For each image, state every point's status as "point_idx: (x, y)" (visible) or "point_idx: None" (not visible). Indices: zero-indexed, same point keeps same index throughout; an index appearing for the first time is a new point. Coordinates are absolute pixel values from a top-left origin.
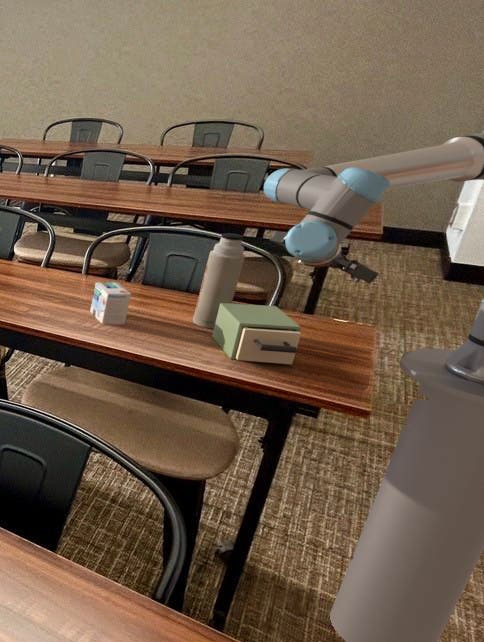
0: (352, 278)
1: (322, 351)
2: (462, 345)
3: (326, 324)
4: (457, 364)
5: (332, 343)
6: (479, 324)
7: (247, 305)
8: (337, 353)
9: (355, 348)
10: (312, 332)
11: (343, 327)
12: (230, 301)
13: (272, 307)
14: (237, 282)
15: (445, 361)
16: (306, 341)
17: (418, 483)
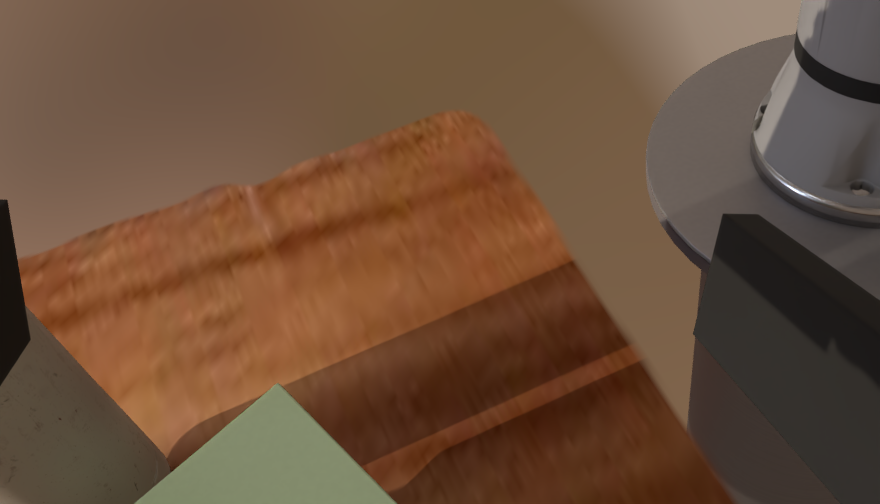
0: (739, 374)
1: (506, 364)
2: (801, 108)
3: (401, 158)
4: (827, 186)
5: (487, 272)
6: (862, 28)
7: (166, 494)
8: (544, 338)
9: (550, 254)
10: (404, 239)
11: (441, 143)
12: (93, 424)
13: (272, 415)
14: (37, 342)
15: (741, 154)
16: (428, 323)
17: (809, 471)
